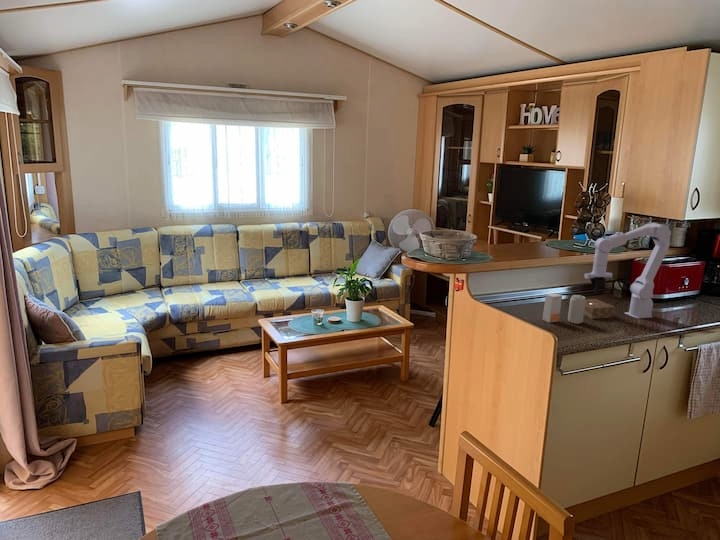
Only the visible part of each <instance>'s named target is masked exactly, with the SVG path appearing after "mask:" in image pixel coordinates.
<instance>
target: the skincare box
mask: <svg viewBox="0 0 720 540" xmlns="http://www.w3.org/2000/svg"><path fill="white" fill-rule="evenodd" d="M562 299H563V295H561V294H559V293H558V294H557V293H550V294H549V293H547V294H545V298H544V303H543V304H544V306H543V310H542V311H543V312H542V319H541V320H542V321H544V322H547V323H554V322H555V323H556V322H557V323H558V322H559V320H560V313H561V309H562V308H561V307H562V306H561V305H562Z"/></svg>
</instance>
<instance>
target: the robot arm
mask: <svg viewBox="0 0 720 540" xmlns="http://www.w3.org/2000/svg"><path fill="white" fill-rule="evenodd" d="M614 233H615V234H614ZM614 233H613V234H612V235H606V236H605V237H599V238H598V239H597V240H595V241H594V243H593V247H594V249H595V251H594V259H593V265H592V271H591V272H588V273H584V275H583V278H584V279H586V280H587V279H590V282H591V286H592V292H593V293H594V294H599V293H600V290H601V288H602V287H603V285H604V284H605V282H607V281H606V280H607V279H606V278H610V279H611V278H613V273H612V272H607V267H608V266H607V265H608V260H609V253H610V252H611V251H612V249H614V248H617V247H620V246H624V245H626V243H627V242H628V241H629V240H633V239H636V238H640V237H643V236H648V237H650V238H651V239H652V240H653V242H654V245H655V246H654V247H653V249H652V252H651V254H650V256H649V258H648V259H647V261H646V264H645V266H644V268H643V271H642V273H641V274H640V276H638V277H637V278H635V281H633V283H632V284H630V287H629V290H630V293H631V297H630V303H629V304H630V305H629V310H628V311H627V312H624V314H625V315H627V316H630V317H632V318H635V319H647V318H648V319H649V318H653V315H652V313H653V308H654V307H653V306H654V302H653V300H652V298H651V297H652V296H653V293H654V287H655V283H654V280H655V277H656V275H657V272H658V271H659V268H660V267H661V264H662V262H663V260H664V258H665V257H666V254H667V252H668V250H669V248H670V246H671V235H672V231H671V229H670V228H669V226H667V225H666V224H661V223H657V222H653V221H652V222H650V223H645V224H644V225H642V226H639V227H637V228H635V229H633V230H630V231H628V232H625V233H624V232H620V231H617V232H614Z"/></svg>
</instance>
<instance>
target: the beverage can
mask: <svg viewBox="0 0 720 540" xmlns="http://www.w3.org/2000/svg"><path fill="white" fill-rule="evenodd" d="M586 300H587V299H586V297H585V296H583V295H580V294H572V295H571V297H570V300H569V306H568V307H569V308H568V314H567V321H568V322H569V323H570V322H571V323H570V324H573V323H574V325H581V324H582V323H583V322H584V317H585V316H584V310H585V303H586ZM580 323H581V324H580Z"/></svg>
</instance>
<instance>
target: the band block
mask: <svg viewBox="0 0 720 540" xmlns="http://www.w3.org/2000/svg"><path fill="white" fill-rule="evenodd" d="M585 300H586V303H585V310H584V317H586V316H587V317H586V318H588V317H589V319H591V320H592V319H594V320H595V318H596V319H607V318H614V316H615V313H616V306H614V305H611V304H609V303H606V302H604V301H602V300H599V299H596V298H592V299H591V298H590V299H585ZM589 302H594V303H598V304H599V305H591V304H589Z"/></svg>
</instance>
